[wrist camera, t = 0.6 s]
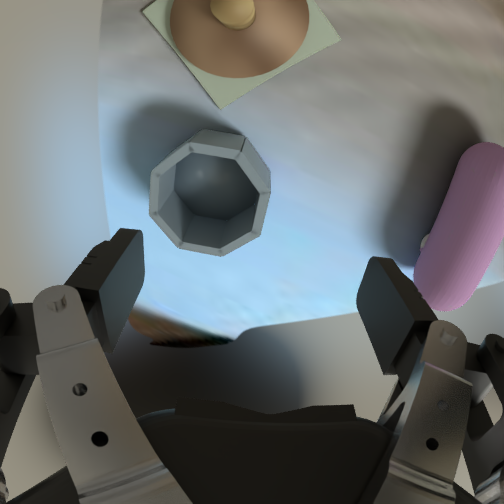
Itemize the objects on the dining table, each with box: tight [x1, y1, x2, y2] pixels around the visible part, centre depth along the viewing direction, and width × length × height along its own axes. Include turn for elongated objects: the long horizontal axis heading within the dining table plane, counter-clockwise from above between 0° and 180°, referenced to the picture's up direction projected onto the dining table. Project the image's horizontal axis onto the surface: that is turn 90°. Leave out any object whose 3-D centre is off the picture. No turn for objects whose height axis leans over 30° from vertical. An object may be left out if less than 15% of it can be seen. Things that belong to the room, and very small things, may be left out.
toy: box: [413, 142, 504, 311], centre depth 28 cm, size 8×9×20 cm
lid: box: [170, 0, 309, 78], centre depth 19 cm, size 12×12×6 cm
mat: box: [142, 0, 341, 110], centre depth 22 cm, size 13×13×1 cm
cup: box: [149, 129, 271, 257], centre depth 28 cm, size 10×10×6 cm
